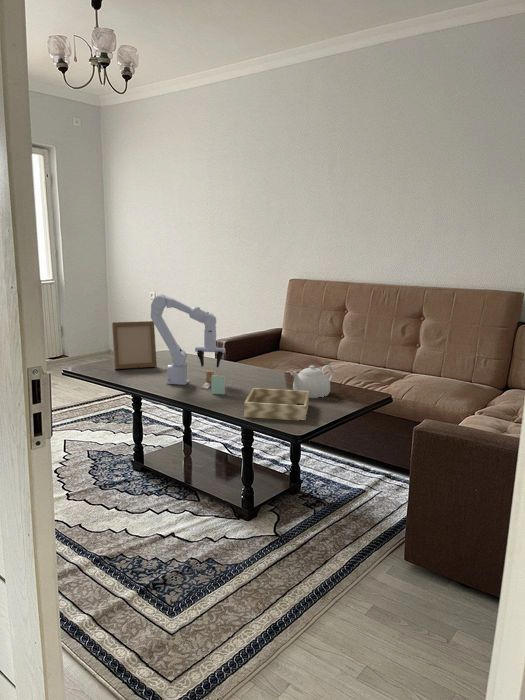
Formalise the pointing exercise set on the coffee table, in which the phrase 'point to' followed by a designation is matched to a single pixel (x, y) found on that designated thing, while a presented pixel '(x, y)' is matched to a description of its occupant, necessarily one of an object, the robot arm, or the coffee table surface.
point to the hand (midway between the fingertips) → (210, 366)
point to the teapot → (313, 381)
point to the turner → (208, 379)
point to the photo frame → (134, 344)
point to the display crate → (276, 410)
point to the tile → (218, 384)
